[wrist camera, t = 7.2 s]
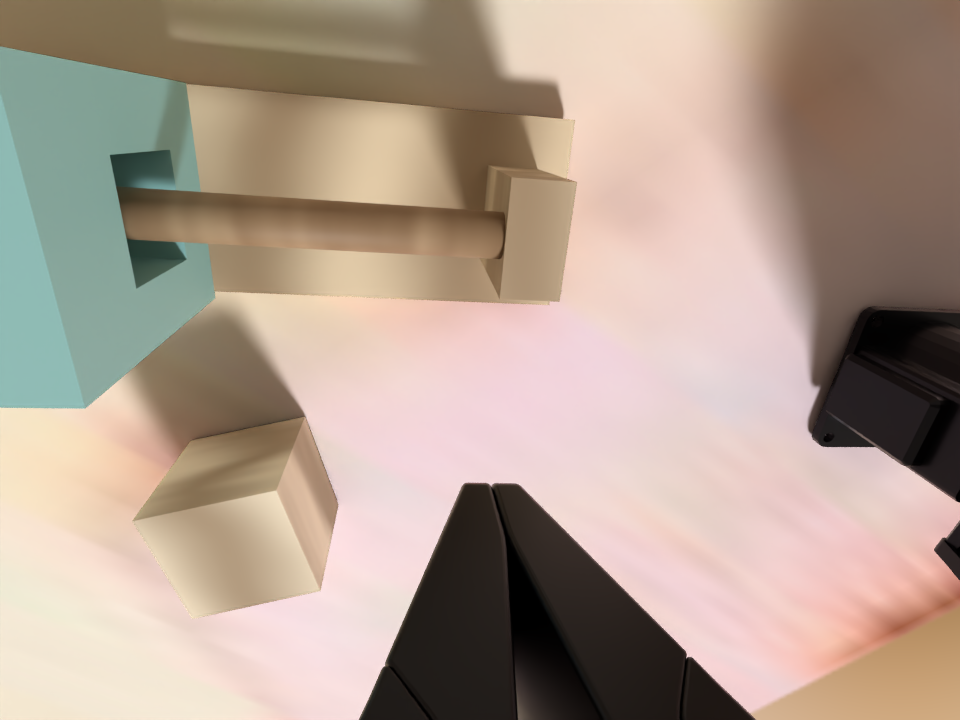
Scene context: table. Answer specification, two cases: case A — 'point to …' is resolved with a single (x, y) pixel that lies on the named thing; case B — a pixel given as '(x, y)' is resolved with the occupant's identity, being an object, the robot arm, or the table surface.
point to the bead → (87, 227)
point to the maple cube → (242, 518)
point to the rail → (369, 199)
